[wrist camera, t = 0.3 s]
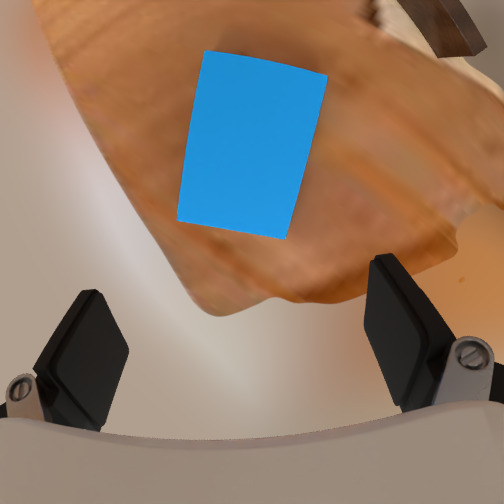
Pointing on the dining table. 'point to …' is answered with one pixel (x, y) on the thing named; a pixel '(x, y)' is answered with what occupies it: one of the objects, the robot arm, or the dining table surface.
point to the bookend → (445, 27)
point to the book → (248, 143)
